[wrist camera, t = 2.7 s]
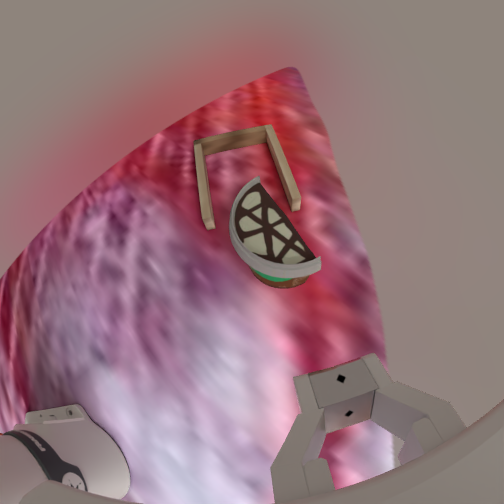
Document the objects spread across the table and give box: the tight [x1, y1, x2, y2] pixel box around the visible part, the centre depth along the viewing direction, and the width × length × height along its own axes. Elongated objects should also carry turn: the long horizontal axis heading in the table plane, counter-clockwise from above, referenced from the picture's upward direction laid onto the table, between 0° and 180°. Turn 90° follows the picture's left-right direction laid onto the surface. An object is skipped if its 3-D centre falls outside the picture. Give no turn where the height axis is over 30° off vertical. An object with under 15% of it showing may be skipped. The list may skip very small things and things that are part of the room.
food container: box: [229, 176, 321, 288], centre depth 31 cm, size 12×6×10 cm, turn 29°
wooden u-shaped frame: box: [194, 125, 301, 230], centre depth 40 cm, size 13×16×3 cm
